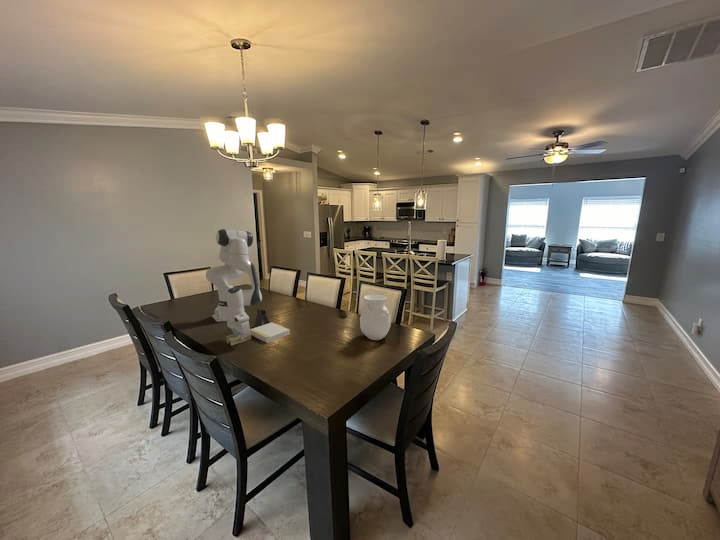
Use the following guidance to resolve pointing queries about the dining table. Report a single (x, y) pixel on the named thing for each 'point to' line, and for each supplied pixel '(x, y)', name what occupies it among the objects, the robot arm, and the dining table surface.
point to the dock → (269, 332)
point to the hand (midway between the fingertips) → (239, 337)
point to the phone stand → (261, 318)
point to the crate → (236, 332)
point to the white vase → (375, 317)
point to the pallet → (237, 339)
